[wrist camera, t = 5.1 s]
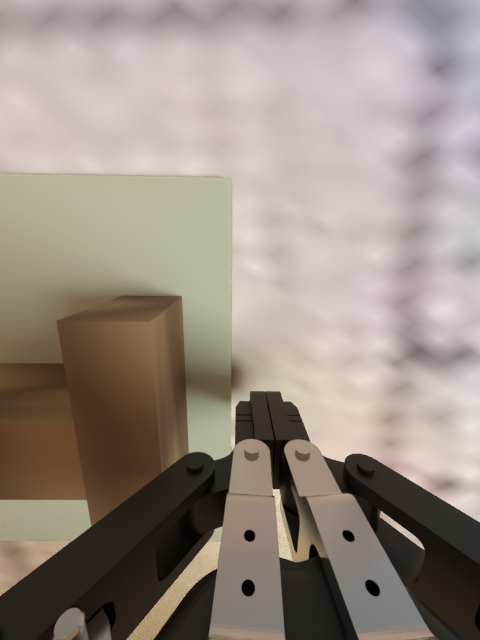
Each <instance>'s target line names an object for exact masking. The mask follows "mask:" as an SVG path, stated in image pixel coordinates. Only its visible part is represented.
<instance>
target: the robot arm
mask: <svg viewBox="0 0 480 640" xmlns="http://www.w3.org/2000/svg"><path fill="white" fill-rule="evenodd" d="M272 487H273V489H280V494H281V500H280V510H281V514H282V518H283V522H284V526H285V530H286V534H287V538H288V542H289V546H290V550H291V554H292V559H293V561H290V560H286V559H283V558H280V557H279V547H278V533H277V519H276V506H275V497H274V496H273V491H272ZM381 511H382V512H383V513H385V514H386V515H388V516H389V517H390V518H392V519H393V520H394V521H396V522H397V523H398V524H400V525H401V526H402V527H404V528H405V529H407V530H408V531H409V532H411V533H412V534H413V535H415V536H416V537H417V538H418V539H419V540H420V542H421V543H422V545H423V546H424V548H425V550H423V549H422V548H420V547H419V546H417V545H416V544H415V543H413V542H412V541H411V540H409V539H408V538H407V537H405V536H404V535H403V534H401V533H400V532H399V531H398V530H396V529H395V528H394V527H392V526H391V525H390V524H388V523H387V522H386V521H384V520H383V519H382V518H380V513H381ZM222 526H223V528H222V536H221V544H220V552H219V560H218V568H217V569H216V570H214V571H212V572H210V573H209V574H207V575H206V576H204V577H203V578H202V579H201V580H199V581H198V582H197V583H196V584H195V585H194V586H193V587H192V588H191V589H190V591H189V592H188V593H187V594H186V596H185V597H184V598H183V600H182V601H181V602H180V604H179V605H178V607H177V608H176V609H175V611H174V612H173V614H172V615H171V616H170V618H169V619H168V621H167V622H166V623H165V625H164V626H163V627H162V629H161V630H160V632H159V633H158V634H157V636H156V637H155V639H154V640H480V522H478V521H476V520H475V519H473V518H471V517H470V516H468V515H466V514H465V513H463V512H461V511H460V510H458V509H456V508H455V507H453V506H451V505H450V504H448V503H446V502H445V501H443V500H442V499H440V498H438V497H437V496H435V495H433V494H432V493H430V492H428V491H427V490H425V489H423V488H422V487H420V486H418V485H417V484H415V483H413V482H412V481H410V480H408V479H407V478H405V477H403V476H402V475H400V474H398V473H397V472H395V471H393V470H392V469H390V468H388V467H387V466H385V465H383V464H382V463H380V462H378V461H377V460H375V459H373V458H372V457H369V456H367V455H363V454H351V455H349V456H347V457H346V459H345V463H344V462H340V461H336V460H332V459H329V458H326V457H324V456H322V454H321V452H320V450H319V449H318V448H317V447H316V446H315V445H314V444H312V443H311V442H310V440H309V437H308V435H307V432H306V429H305V427H304V424H303V422H302V419H301V416H300V414H299V411H298V409H297V407H296V406H295V405H294V404H293V403H292V402H283V400H282V397H281V393H280V392H272V391H266V392H264V391H250V401H240V402H239V403H238V405H237V406H236V424H235V448H234V450H233V451H232V452H231V453H230V454H229V455H228V456H226V457H224V458H221V459H217V460H213V458H212V457H211V456H210V455H208V454H206V453H204V452H192V453H189V454H186V455H185V456H183V457H182V458H180V459H179V460H178V461H176V462H175V463H174V464H172V465H171V466H170V467H169V468H167V469H166V470H165V471H163V472H162V473H161V474H159V475H158V476H157V477H155V478H154V479H153V480H152V481H150V482H149V483H148V484H146V485H145V486H144V487H142V488H141V489H140V490H138V491H137V492H136V493H135V494H133V495H132V496H131V497H129V498H128V499H127V500H125V501H124V502H123V503H121V504H120V505H119V506H118V507H116V508H115V509H114V510H112V511H111V512H110V513H108V514H107V515H106V516H104V517H103V518H102V519H101V520H99V521H98V522H97V523H95V524H94V525H93V526H91V527H90V528H89V529H87V530H86V531H85V532H84V533H82V534H81V535H80V536H78V537H77V538H76V539H74V540H73V541H72V542H70V543H69V544H68V545H67V546H65V547H64V548H63V549H61V550H60V551H59V552H57V553H56V554H55V555H53V556H52V557H51V558H50V559H48V560H47V561H46V562H44V563H43V564H42V565H40V566H39V567H38V568H36V569H35V570H34V571H33V572H31V573H30V574H29V575H27V576H26V577H25V578H23V579H22V580H21V581H19V582H18V583H17V584H16V585H14V586H13V587H12V588H10V589H9V590H8V591H6V592H5V593H4V594H2V595H1V596H0V640H126V639H127V638H128V637H129V636H130V634H131V633H132V632H133V631H134V629H135V628H136V627H137V626H138V625H139V623H140V622H141V621H142V620H143V619H144V617H145V616H146V615H147V614H148V613H149V611H150V610H151V609H152V608H153V607H154V605H155V604H156V603H157V602H158V601H159V599H160V598H161V597H162V596H163V595H164V593H165V592H166V591H167V590H168V589H169V587H170V586H171V585H172V584H173V583H174V581H175V580H176V579H177V578H178V577H179V575H180V574H181V573H182V572H183V571H184V569H185V568H186V567H187V566H188V565H189V563H190V562H191V561H192V560H193V559H194V557H195V556H196V555H197V554H198V553H199V551H200V550H201V549H202V548H203V547H204V545H205V544H206V543H207V542H208V541H209V539H210V538H211V537H212V535H213V533H214V530H215V529H217V528H219V527H222Z"/></svg>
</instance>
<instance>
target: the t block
mask: <svg viewBox="0 0 480 640" xmlns="http://www.w3.org/2000/svg"><path fill="white" fill-rule="evenodd" d="M56 322H57V328H58V334H59V340H60V346H61V351H62V357H63V363H64V364H60V363H0V500H87V505H88V510H89V516H90V522H91V526H93V525H94V524H95V523H97V522H98V521H99V520H101V519H102V518H103V517H104V516H106V515H107V514H108V513H110V512H111V511H112V510H114V509H115V508H116V507H118V506H119V505H120V504H121V503H123V502H124V501H125V500H127V499H128V498H129V497H131V496H132V495H133V494H135V493H136V492H137V491H138V490H140V489H141V488H142V487H144V486H145V485H146V484H148V483H149V482H150V481H152V480H153V479H154V478H155V477H157V476H158V475H159V474H161V473H162V472H163V471H165V470H166V469H167V468H169V467H170V466H171V465H172V464H174V463H175V462H176V461H178V460H179V459H180V458H182V457H183V456H185V455H186V454H189V447H188V423H187V400H186V377H185V354H184V330H183V307H182V296H120V297H118V298H115V299H113V300H110V301H107V302H105V303H102V304H99V305H97V306H94V307H91V308H89V309H86V310H84V311H81V312H78V313H76V314H73V315H70V316H68V317H65V318H62V319H60V320H57V321H56Z"/></svg>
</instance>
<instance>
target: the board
mask: <svg viewBox="0 0 480 640" xmlns="http://www.w3.org/2000/svg"><path fill="white" fill-rule="evenodd" d="M120 296H182V307H183V330H184V354H185V377H186V400H187V423H188V447H189V453H192V452H204V453H206V454H208V455H210V456H211V457H212V458H213V460H217V459H221V458H224V457H226V456H228V455H229V454H230V453H231V320H232V178H223V177H166V176H109V175H53V174H0V363H60V364H64V363H63V357H62V351H61V346H60V340H59V334H58V328H57V322H56V321H57V320H60V319H62V318H65V317H68V316H70V315H73V314H76V313H78V312H81V311H84V310H86V309H89V308H91V307H94V306H97V305H99V304H102V303H105V302H107V301H110V300H113V299H115V298H118V297H120ZM90 527H91V522H90V516H89V510H88V505H87V500H0V541H73V540H74V539H76V538H77V537H78V536H80V535H81V534H82V533H84V532H85V531H86V530H87V529H89V528H90ZM222 528H223V526H222V527H219V528H217V529H215V530H214V533H213V535H212V537H211V538H210V539H209V541H221V536H222Z"/></svg>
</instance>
